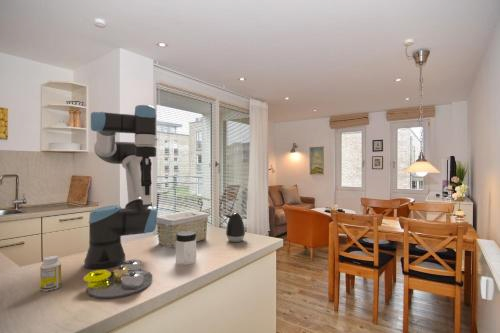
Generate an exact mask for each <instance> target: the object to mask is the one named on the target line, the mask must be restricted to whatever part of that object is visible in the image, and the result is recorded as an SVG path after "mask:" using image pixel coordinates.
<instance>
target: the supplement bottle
mask: <svg viewBox="0 0 500 333" xmlns="http://www.w3.org/2000/svg"><path fill="white" fill-rule="evenodd" d="M39 268H40V269H39V270H40V276H39V277H40V290H41V291H42V290H43V292H49V291H48V290H51V291H54V290H57V289H58V288H61V285H62V262H61V260H59V256H58V255H50V256H49V255H48V256H45V257H43V259H42V264H41V265H40V267H39ZM53 289H54V290H53Z"/></svg>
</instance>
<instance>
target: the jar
mask: <svg viewBox="0 0 500 333" xmlns="http://www.w3.org/2000/svg"><path fill="white" fill-rule="evenodd" d="M196 261H197V241H196V232H194V231H182V232H178V233H177V234H176V247H175V264H177V265H183V266H185V265H186V266H187V265H191V264H195V263H196Z"/></svg>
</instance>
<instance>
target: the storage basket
mask: <svg viewBox="0 0 500 333" xmlns="http://www.w3.org/2000/svg"><path fill="white" fill-rule="evenodd" d="M208 218H209V214H208V212H205V211H204V212H202V211H197V210H191V209H190V210H185V211H178V212H175V213H166V214H161V215H160V214H159V215H158V214H157V222H156V229H157V237H158V244H160V245H163V246H165V247H168V248H173V249H174V248H175V249H176V234H177V233H178V232H182V231H194V232H196V242H200V241H202V240H206V239H207V231H208V230H207V229H208Z"/></svg>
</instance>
